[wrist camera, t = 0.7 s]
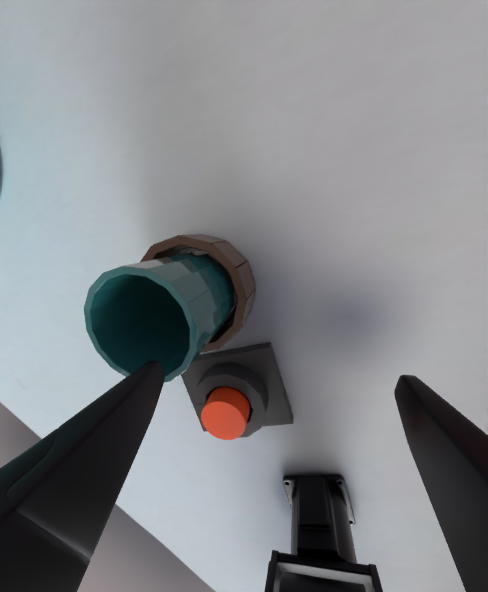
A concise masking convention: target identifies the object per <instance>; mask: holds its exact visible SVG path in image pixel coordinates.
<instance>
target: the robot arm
mask: <svg viewBox="0 0 488 592" xmlns="http://www.w3.org/2000/svg"><path fill="white" fill-rule="evenodd" d="M164 380H165V373H164V371H163V368H162V365H161V363H160V362H159V361H153V360H150V361H148V362H146V363H145V364H144V365H142V366H141V367H140V368H138V369H137V370H136V371H134V372H133V373H132V374H130V375H129V376H127V377H126V378H125V379H123V380H122V381H121V382H119V383H118V384H117V385H115V386H114V387H113V388H111V389H110V390H108V391H107V392H106V393H104V394H103V395H102V396H100V397H99V398H98V399H96V400H95V401H94V402H92V403H91V404H90V405H88V406H87V407H85V408H84V409H83V410H81V411H80V412H79V413H77V414H76V415H75V416H73V417H72V418H71V419H69V420H68V421H66V422H65V423H64V424H62V425H61V426H60V427H59V428H58V429H56V430H54V431H53V432H51V433H50V434H49V435H47V436H46V437H45V438H43V439H42V440H40V441H39V442H38V443H36V444H35V445H34V446H32V447H31V448H29V449H28V450H27V451H25V452H24V453H22V454H21V455H19V456H18V457H16V458H15V459H13V460H12V461H10V462H9V463H7V464H6V465H4V466H3V467H1V468H0V592H77V590H78V588H79V585H80V583H81V581H82V578H83V576H84V574H85V572H86V569H87V567H88V565H89V563H90V559H91V557H92V555H93V553H94V550H95V548H96V546H97V544H98V541H99V539H100V537H101V534H102V532H103V530H104V528H105V525H106V523H107V520H108V518H109V516H110V514H111V511H112V509H113V507H114V505H115V502H116V500H117V498H118V495H119V493H120V491H121V488H122V486H123V484H124V482H125V479H126V477H127V475H128V472H129V470H130V468H131V465H132V463H133V461H134V459H135V456H136V454H137V452H138V449H139V447H140V445H141V442H142V440H143V438H144V436H145V433H146V431H147V429H148V426H149V424H150V422H151V419H152V417H153V414H154V411H155V408H156V405H157V402H158V399H159V396H160V393H161V390H162V386H163V383H164ZM394 393H395V399H396V403H397V406H398V410H399V413H400V417H401V421H402V424H403V428H404V431H405V435H406V438H407V442H408V445H409V447H410V450H411V453H412V455H413V458H414V460H415V463H416V465H417V468H418V470H419V473H420V476H421V478H422V481H423V483H424V486H425V488H426V491H427V493H428V496H429V498H430V501H431V503H432V506H433V509H434V511H435V514H436V516H437V519H438V521H439V524H440V526H441V529H442V531H443V534H444V537H445V539H446V542H447V544H448V547H449V549H450V552H451V554H452V557H453V559H454V562H455V565H456V567H457V570H458V572H459V575H460V577H461V580H462V582H463V585H464V587H465V590H466V592H488V435H487V434H485V433H484V432H483V431H482V430H481V429H479V428H478V427H477V426H476V425H475V424H473V423H472V422H471V421H470V420H468V419H467V418H466V417H465V416H464V415H462V414H461V413H460V412H459V411H457V410H456V409H455V408H454V407H453V406H451V405H450V404H449V403H448V402H446V401H445V400H444V399H443V398H442V397H440V396H439V395H438V394H437V393H436V392H434V391H433V390H432V389H431V388H429V387H428V386H427V385H426V384H425V383H423V382H422V381H421V380H420V379H418V378H417V377H416V376H412V375H401V376H400V377H399V380H398V383H397V385H396V388H395V392H394ZM283 486H284V489H285V492H286V494H287V497H288V500H289V503H290V506H291V509H292V525H291V554H287V553H280V552H279V551H276V550H272V556H271V561H269V565H268V574H267V580H266V586H265V592H383V590H382V587H381V583H380V579H379V576H378V572H377V568H376V565H373V564H369V565H362V564H357V560H356V555H355V549H354V544H353V538H352V533H351V528H350V526H352V525H355V518H354V515H353V511H352V507H351V504H350V500H349V496H348V493H347V489H346V485H345V482H344V478H343V477H342V476H340V475H318V476H285V477H283Z"/></svg>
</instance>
